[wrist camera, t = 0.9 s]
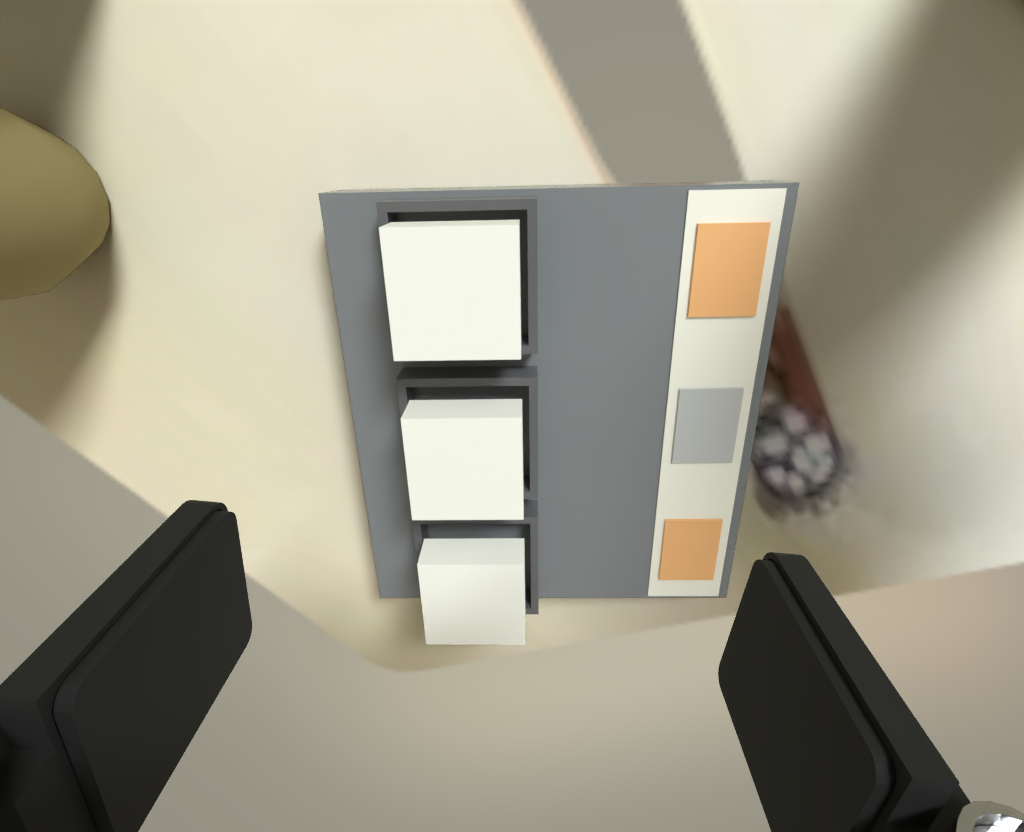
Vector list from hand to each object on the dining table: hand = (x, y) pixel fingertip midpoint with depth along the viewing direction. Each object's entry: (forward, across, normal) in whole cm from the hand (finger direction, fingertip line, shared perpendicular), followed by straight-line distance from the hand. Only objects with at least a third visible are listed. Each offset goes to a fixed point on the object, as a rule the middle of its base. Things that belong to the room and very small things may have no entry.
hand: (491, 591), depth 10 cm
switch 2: (+15, +2, +5) cm, 16 cm away
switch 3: (+15, +1, +13) cm, 19 cm away
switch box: (+20, -2, +5) cm, 21 cm away
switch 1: (+15, +2, -2) cm, 15 cm away
